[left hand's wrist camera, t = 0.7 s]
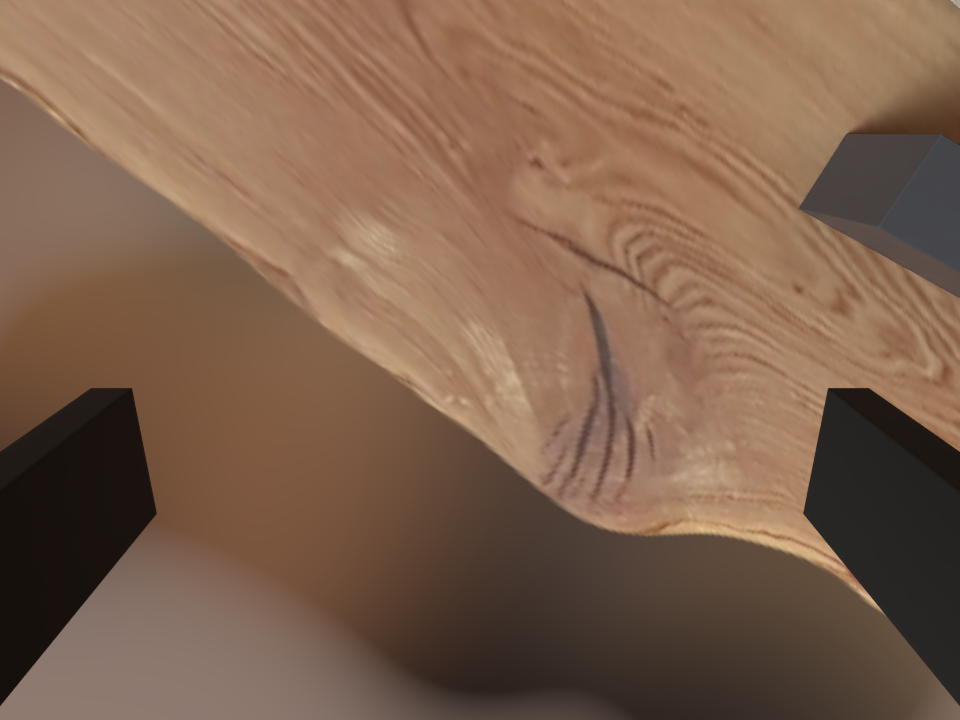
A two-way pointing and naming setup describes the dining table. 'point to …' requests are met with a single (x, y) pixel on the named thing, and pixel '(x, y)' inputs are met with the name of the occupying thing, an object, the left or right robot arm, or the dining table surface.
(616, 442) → the dining table surface
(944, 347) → the dining table surface
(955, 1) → the seashell
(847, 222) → the bar
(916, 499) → the left robot arm
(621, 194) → the dining table surface
